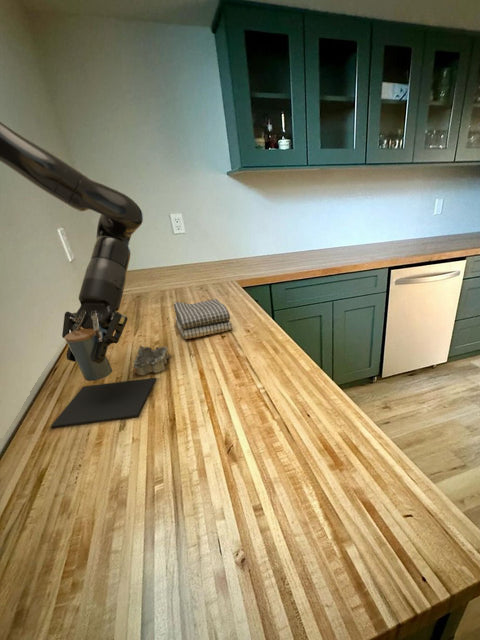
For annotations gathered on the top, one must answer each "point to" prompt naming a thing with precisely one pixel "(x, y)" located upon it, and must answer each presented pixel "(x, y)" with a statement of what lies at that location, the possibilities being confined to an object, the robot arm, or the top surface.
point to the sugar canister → (87, 354)
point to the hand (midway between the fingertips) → (84, 361)
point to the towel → (201, 318)
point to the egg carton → (150, 360)
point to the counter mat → (106, 403)
